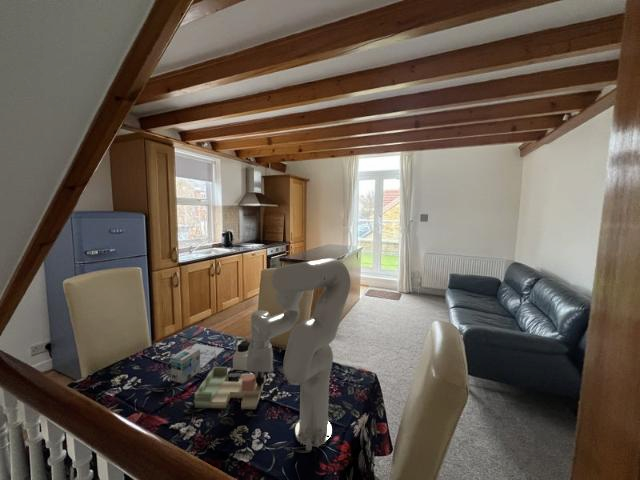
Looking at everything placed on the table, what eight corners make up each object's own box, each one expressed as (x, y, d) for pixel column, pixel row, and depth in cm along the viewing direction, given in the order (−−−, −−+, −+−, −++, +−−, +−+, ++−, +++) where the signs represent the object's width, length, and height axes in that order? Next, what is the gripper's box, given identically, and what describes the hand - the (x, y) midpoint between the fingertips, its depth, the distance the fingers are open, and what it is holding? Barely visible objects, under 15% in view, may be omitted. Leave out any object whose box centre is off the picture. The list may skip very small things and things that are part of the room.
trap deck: (255, 409, 100) (255, 395, 99) (194, 407, 100) (194, 393, 99) (265, 379, 118) (265, 367, 117) (213, 378, 118) (213, 366, 117)
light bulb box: (182, 384, 113) (182, 360, 112) (170, 380, 115) (169, 357, 114) (201, 370, 123) (200, 348, 122) (189, 367, 125) (189, 345, 124)
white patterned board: (167, 364, 128) (167, 360, 128) (196, 345, 148) (196, 341, 148) (201, 370, 124) (201, 366, 124) (226, 350, 143) (226, 346, 143)
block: (253, 390, 106) (253, 381, 106) (242, 390, 106) (242, 381, 106) (255, 383, 111) (256, 374, 110) (245, 383, 111) (245, 374, 110)
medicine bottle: (252, 362, 131) (252, 339, 130) (247, 371, 124) (247, 346, 123) (238, 361, 132) (238, 338, 130) (232, 369, 124) (232, 345, 123)
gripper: (239, 345, 103) (238, 390, 105) (277, 347, 103) (276, 391, 105) (244, 337, 111) (244, 378, 112) (280, 338, 111) (279, 379, 112)
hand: (260, 384), depth 109 cm, fingers closed
